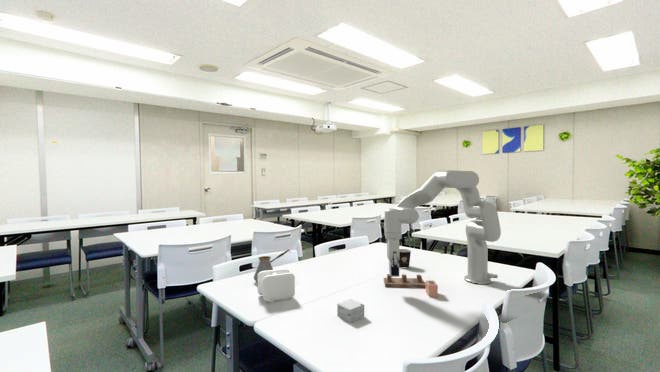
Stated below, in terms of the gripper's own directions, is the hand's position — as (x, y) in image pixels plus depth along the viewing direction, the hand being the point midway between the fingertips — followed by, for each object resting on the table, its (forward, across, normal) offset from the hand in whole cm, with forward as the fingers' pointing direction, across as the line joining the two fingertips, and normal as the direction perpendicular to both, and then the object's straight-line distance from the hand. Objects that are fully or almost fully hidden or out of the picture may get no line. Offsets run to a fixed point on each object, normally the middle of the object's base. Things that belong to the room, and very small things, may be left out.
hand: (394, 272), depth 145 cm
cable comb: (+10, -13, +6) cm, 18 cm away
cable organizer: (+9, +9, -55) cm, 56 cm away
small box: (+9, +26, -20) cm, 35 cm away
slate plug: (+1, 0, 0) cm, 1 cm away
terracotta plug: (+10, 0, +17) cm, 20 cm away
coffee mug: (+11, -46, +9) cm, 48 cm away
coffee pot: (+9, -15, -63) cm, 65 cm away
